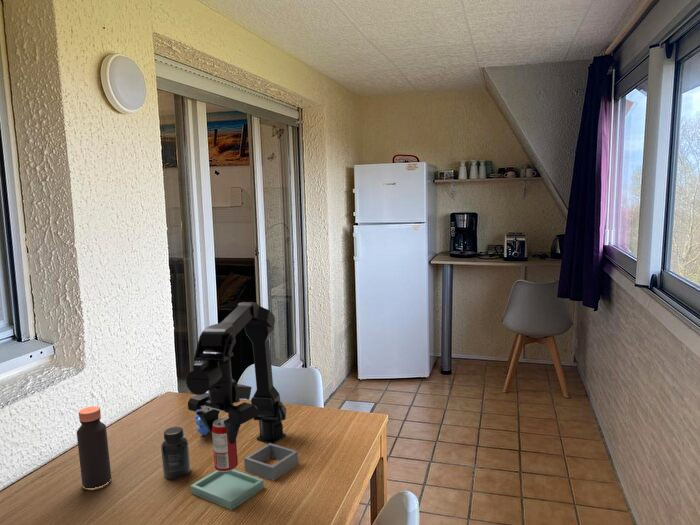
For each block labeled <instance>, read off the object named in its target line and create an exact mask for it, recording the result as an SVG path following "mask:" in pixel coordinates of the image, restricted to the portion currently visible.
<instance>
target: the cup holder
mask: <svg viewBox="0 0 700 525" xmlns="http://www.w3.org/2000/svg"><path fill="white" fill-rule="evenodd" d="M270 458H274V459H276V460H279V461H277V462H276V463H275V464H272V465H271V464H269V463H266V461H267V460H268V459H270ZM243 459H244V471H245V472H247V473H250V474H252V475H255V476H258V477H261V478H265V479H267V480H271V481H273V482H274V481H275V480H277V479H278V478H280V477H282V476H283V475H284V474H286V473H287V472H289V471H290V470H292V468H294V467H296V466H297V465H299V452H298V451H297V450H294V449H292V448H288V447H286V446H285V447H284V446H281V445H279V444H275V443H273V444H272V443H267V444H266V445H264V446H263V447H262V446H261V448H259V449H258V450H256V451H254V452H252V453H250V454H249V455H248V456H247V455H246V457H244V458H243ZM266 459H267V460H266Z"/></svg>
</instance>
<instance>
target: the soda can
mask: <svg viewBox="0 0 700 525" xmlns="http://www.w3.org/2000/svg"><path fill="white" fill-rule="evenodd" d="M227 419H229V417H221V418H218V419H217V420H215V421H214V422H213V426H212V434H211V438H212V446H213V447H212V448H213V450H212V451H213V462H214V469H215V471H216V470H217V471H219V472H229V471H231V470H233V469H234V470H236V468H237V466H238V463H239V462H238V461H239V460H238V459H239V458H238V448H237V447H238V446H237V440H236V441H235V443H234V444H231V443H230V441H229V438H228V435H227V431H226V428H225V425H224V422H223V421H225V420H227Z"/></svg>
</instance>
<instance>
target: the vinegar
mask: <svg viewBox="0 0 700 525" xmlns="http://www.w3.org/2000/svg"><path fill="white" fill-rule="evenodd" d="M101 417H102V413H101V408H100V406H96V405H95V406H87V407H84V408H82V409H80V410H79V411H78V419H79V423H80V426H79V427H78V429H77V431H76V440H77V448H78V457H79V467H80V476H81V484H82V485H83V486H84V487H85V488H95V487H99V486H102V485H104V484H106V483H107V482H109V481H110V479H111V480H112V471H111V462H110V452H109V441H108V433H107V431H108V430H107V426H106V424H105V423H103V422H102V421H101V419H102V418H101ZM82 485H81V486H82ZM83 486H82V487H83Z"/></svg>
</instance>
